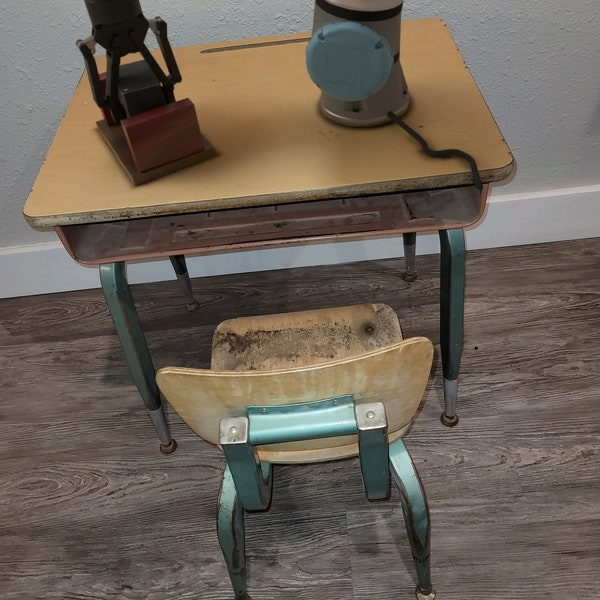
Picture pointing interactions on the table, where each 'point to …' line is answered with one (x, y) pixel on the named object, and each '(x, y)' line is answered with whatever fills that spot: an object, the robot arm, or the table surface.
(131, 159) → the book stand
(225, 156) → the table surface
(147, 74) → the small box
